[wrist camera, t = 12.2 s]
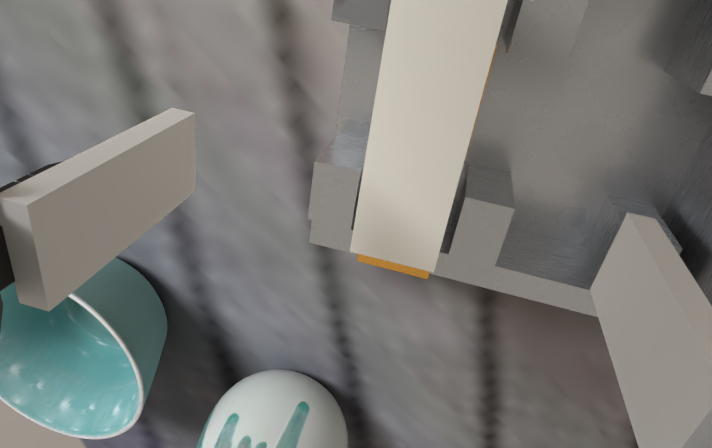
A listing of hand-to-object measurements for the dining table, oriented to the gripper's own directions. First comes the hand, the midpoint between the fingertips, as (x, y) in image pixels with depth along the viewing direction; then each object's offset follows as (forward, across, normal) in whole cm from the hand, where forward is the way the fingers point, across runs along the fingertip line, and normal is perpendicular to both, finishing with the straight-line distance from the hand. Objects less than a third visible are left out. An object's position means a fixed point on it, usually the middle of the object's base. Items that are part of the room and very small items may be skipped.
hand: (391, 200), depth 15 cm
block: (+15, 0, 0) cm, 15 cm away
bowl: (+16, -23, -23) cm, 36 cm away
